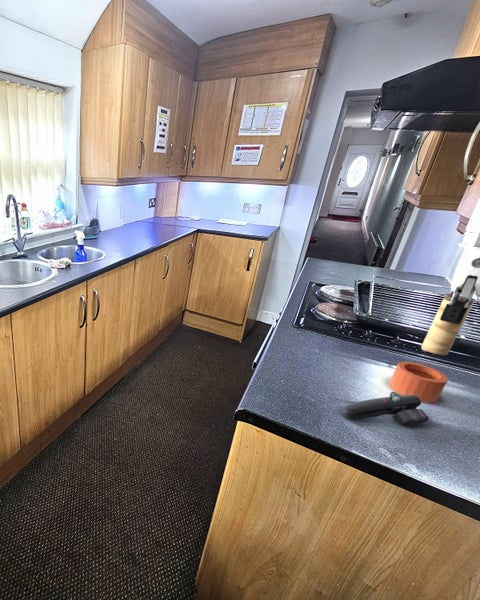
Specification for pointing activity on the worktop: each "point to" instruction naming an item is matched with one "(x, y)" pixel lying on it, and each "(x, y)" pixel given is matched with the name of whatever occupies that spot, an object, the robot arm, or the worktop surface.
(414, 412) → the can opener
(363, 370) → the worktop surface
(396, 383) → the bowl
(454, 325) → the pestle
